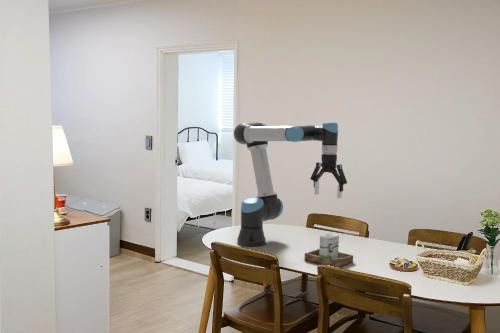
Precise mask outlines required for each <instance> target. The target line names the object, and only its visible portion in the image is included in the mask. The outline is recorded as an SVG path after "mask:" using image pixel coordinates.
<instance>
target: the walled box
mask: <svg viewBox="0 0 500 333" xmlns="http://www.w3.org/2000/svg"><path fill="white" fill-rule="evenodd" d="M319 249H320V248H317V249H314V250H311V251H308V252H305V253H304V261H305V262H308V263H313V264H316V265H320V266H323V265H330V266H334V267H340V268H343V267H345V266H348V265H350V264H352V263H353V264H354V255H353V254H349V253H345V252H341V251H338V259H336V260H332V259H328V258H324V257H320V256H319ZM321 264H323V265H321Z"/></svg>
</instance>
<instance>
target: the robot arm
mask: <svg viewBox="0 0 500 333" xmlns="http://www.w3.org/2000/svg"><path fill="white" fill-rule="evenodd" d="M338 135H339V124H338V122H335V121H334V122H331V121H329V122H328V121H327V122H326V121H324V122H322V125H312V124H307V125H291V126H290V125H278V126H277V125H275V126H274V125H271V126H269V125H268V126H267V125H266V123H264V122H257V121H256V122H242V123H240V124H238V125H236V127H235V128H234V130H233V137H234V140H235V141H236V142H237V143H238V144H241V145H246V147H247V150H249V151H250V156H251V159H252V161H251V162H252V165H253V166H252V167H253V171H254V178H255V183H256V188H257V195H256V196H255V197H250V198H246V199H244V200H242V201H241V206H240V230H239V233H238V235H237V236H238V237H237V241H236V242H237V244H238V245H240V244H241V245H240V246H243V245H245V246H244V247H261V246H264V245H265V244H267V242H266V239H267V238H266V237H265V232H264V227H263V226H264V225H263V224H264V223H263V222H266V221H272V220H276V219H278V218H280V216H282V213H283V210H284V203H283V201H282V200H281V198H279V197H278V194H277V192H275V191H274V186H273V181H272V175H271V168H270V165H269V159H268V158H269V157H268V153H267V148H268V146H269V143H268V142H291V143H292V142H293V143H296V142H310V141H313V142H314V141H316V142H321V153H322V154H321V158H320V159H321V162H320V161H318V162H316V163H315V167H314V169H313V172H312V174H311V176H310V181H313V188H314V192H313V193H314V195H319V194H320V181H319V180H320V179H321V177H322V176H323V175H324V174H325V173H329V174H330V173H331V174H332V176H333V178H334V179H335V180H336V181H337V183H338V184H337V194H336V198H337V199H342V195H343V191H344V185H346V184H348V181H347V178H346V176H345V172H344V170H343V165H342V164H337V162H338V154H337V153H338Z"/></svg>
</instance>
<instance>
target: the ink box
mask: <svg viewBox="0 0 500 333" xmlns="http://www.w3.org/2000/svg"><path fill="white" fill-rule="evenodd" d="M339 242H340V235H338V234H335V233H325V234H321V235H319V248H318V249H319V256H320V257H324V258H328V259H332V260H336V259H338V252H339Z"/></svg>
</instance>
